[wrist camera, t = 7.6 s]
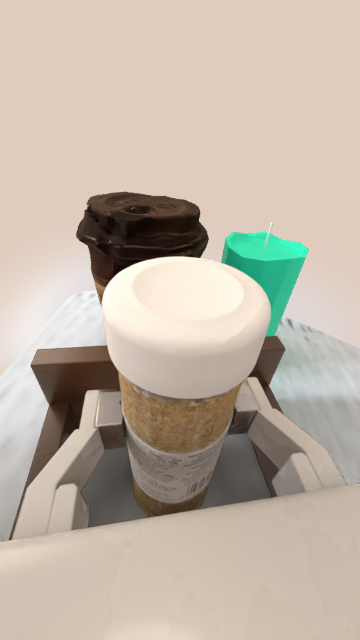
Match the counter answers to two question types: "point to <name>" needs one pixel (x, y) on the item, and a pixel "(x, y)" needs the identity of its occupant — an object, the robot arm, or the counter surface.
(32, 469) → the spice rack
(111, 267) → the coffee cup
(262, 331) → the sprinkles bottle
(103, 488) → the counter surface
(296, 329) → the counter surface
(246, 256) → the candle
